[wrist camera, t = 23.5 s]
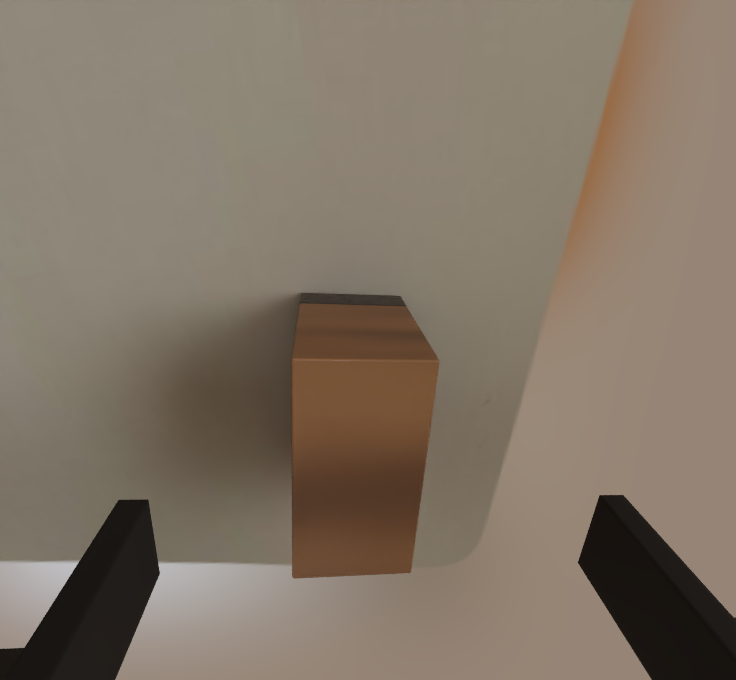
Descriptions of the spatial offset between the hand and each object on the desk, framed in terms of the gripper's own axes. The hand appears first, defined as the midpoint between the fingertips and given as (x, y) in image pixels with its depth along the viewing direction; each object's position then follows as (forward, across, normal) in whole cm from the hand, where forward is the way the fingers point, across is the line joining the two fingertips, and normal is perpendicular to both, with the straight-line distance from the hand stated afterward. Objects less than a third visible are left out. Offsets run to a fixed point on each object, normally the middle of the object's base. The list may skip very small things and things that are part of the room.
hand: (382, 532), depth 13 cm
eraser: (+9, -1, 0) cm, 9 cm away
